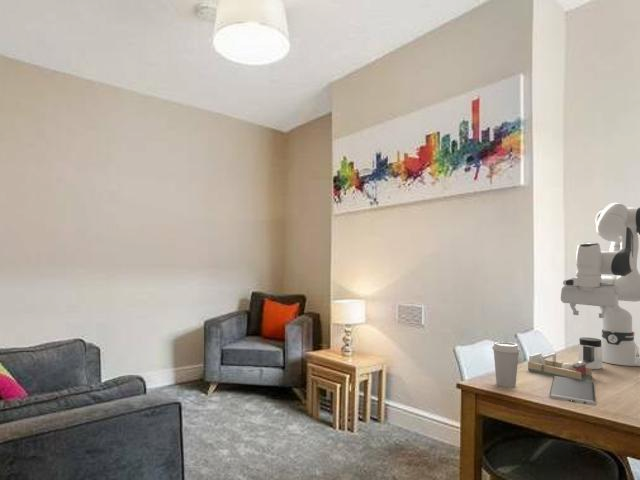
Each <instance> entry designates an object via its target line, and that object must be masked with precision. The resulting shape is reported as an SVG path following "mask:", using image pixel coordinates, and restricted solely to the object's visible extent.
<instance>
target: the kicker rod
mask: <svg viewBox="0 0 640 480" xmlns="http://www.w3.org/2000/svg"><path fill="white" fill-rule="evenodd" d="M592 362H594V346H588V345H585V346H583V361H581V362H578V361H577V362H575V363H573V364H571V365H572V366H573V368H575V371H577V372H581V376H582V375H585V374H586V364H589V363H592Z"/></svg>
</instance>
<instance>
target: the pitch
mask: <svg viewBox="0 0 640 480" xmlns="http://www.w3.org/2000/svg"><path fill="white" fill-rule="evenodd" d="M550 358H552V360H550ZM564 363H565V362H560V361H557V353H556V352H552V353H548V354H545V355H542V353H541V352H538V353H534V354H530V355H528V362H527V370H529V372H532V371H534V373H537V372H538V373H537V374H542V375H546V376H552V377H554V376H558V377H565V378H572V379H579V380H587V381H588V380H589V379H591V378H592V376H593V371H592V370H593V369H592V368H587V367H586V374H585V375H582V376H581V372H577V371H575V368H573V370H567V369H562V368H561V366H562V364H564ZM572 367H573V366H572Z"/></svg>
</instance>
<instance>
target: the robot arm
mask: <svg viewBox="0 0 640 480" xmlns="http://www.w3.org/2000/svg"><path fill="white" fill-rule="evenodd" d="M595 226H596V227H595V230H596V233H597V235H598V236H599V237H601V238H602V239H603V240H605V241H608V242H611V244H610V247H609V251H608V250H606V251H605V250H604V251H603V250H601V246H600V244H599V243H598V242H591V241H587V242H581V243H579V244H578V245H577V248H576V255H575V256H576V257H575V265H576V272H575V277H572V278H568V279H565V280H563V282H562V285H563V287H561V291H560V301H561V302H562V303H563V304H569V307H570V308H571V310H572V314H573V316H579V312H580V311H579V310H577V309H576V305H582V306H593V307H599V309H600V311H601V312H599V313H598V318H599V319H602V329H601V339H600V340H601V346H602V360H603V362H604V363H608V364H610V365H611V364H612V365H618V366H629V367H631V366H632V367H633V366H634V367H635V366H636V367H640V353H639V352H640V349H639V346H638V345H637V343H636V342H635V331H633V315H632V314H631V313H630V312H629V310H627V309H625V308H622V307H621V306H620V305H619V302H623V301H624V302H634V303H635V302H636V303H637V302H640V272H639V271H638V254H639V248H640V247H639V246H640V245H639V243H640V242H639V240H640V239H639V235H640V207H627V206H626V205H625V204H622V203H620V202H614V203H613V202H612V203H610V204H608V205H607V206H606V207H605V208H604V209H603V210H599V212H598V213H596V216H595Z"/></svg>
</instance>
